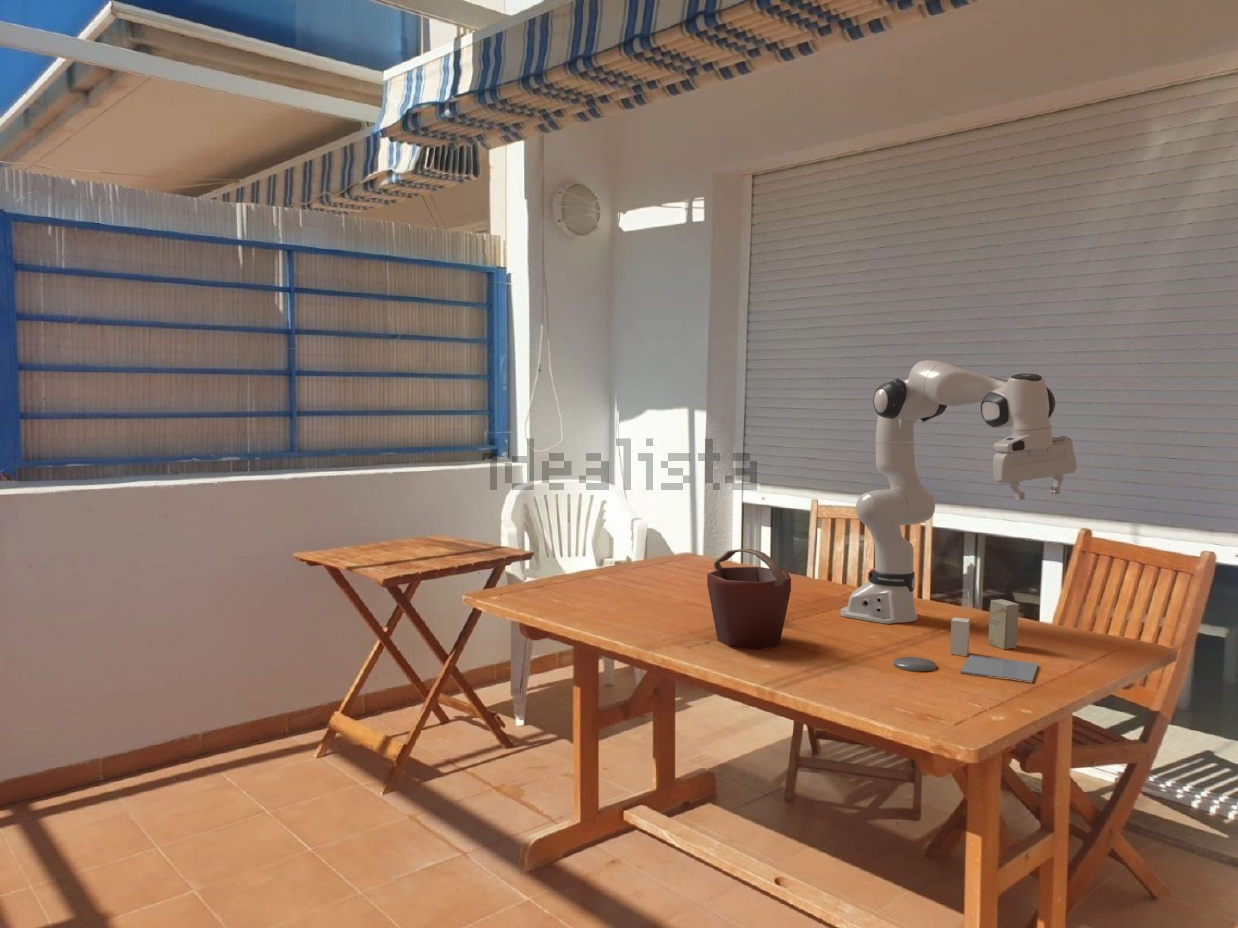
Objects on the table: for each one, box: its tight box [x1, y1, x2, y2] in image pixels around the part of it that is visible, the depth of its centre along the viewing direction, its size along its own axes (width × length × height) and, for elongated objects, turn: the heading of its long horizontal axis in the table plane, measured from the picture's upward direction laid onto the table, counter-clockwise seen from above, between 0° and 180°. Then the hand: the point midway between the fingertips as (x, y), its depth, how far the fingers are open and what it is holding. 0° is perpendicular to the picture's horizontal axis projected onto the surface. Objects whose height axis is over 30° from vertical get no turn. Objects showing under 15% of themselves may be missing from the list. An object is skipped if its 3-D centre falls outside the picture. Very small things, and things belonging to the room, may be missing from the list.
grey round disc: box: [893, 656, 937, 672], centre depth 233 cm, size 10×10×1 cm
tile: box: [959, 654, 1039, 682], centre depth 230 cm, size 16×16×1 cm
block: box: [949, 616, 971, 657], centre depth 243 cm, size 4×4×9 cm
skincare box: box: [987, 598, 1020, 650], centre depth 250 cm, size 6×4×12 cm
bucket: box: [706, 548, 792, 651], centre depth 255 cm, size 24×22×25 cm
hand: (1037, 496), depth 227 cm, fingers open, 8 cm apart
